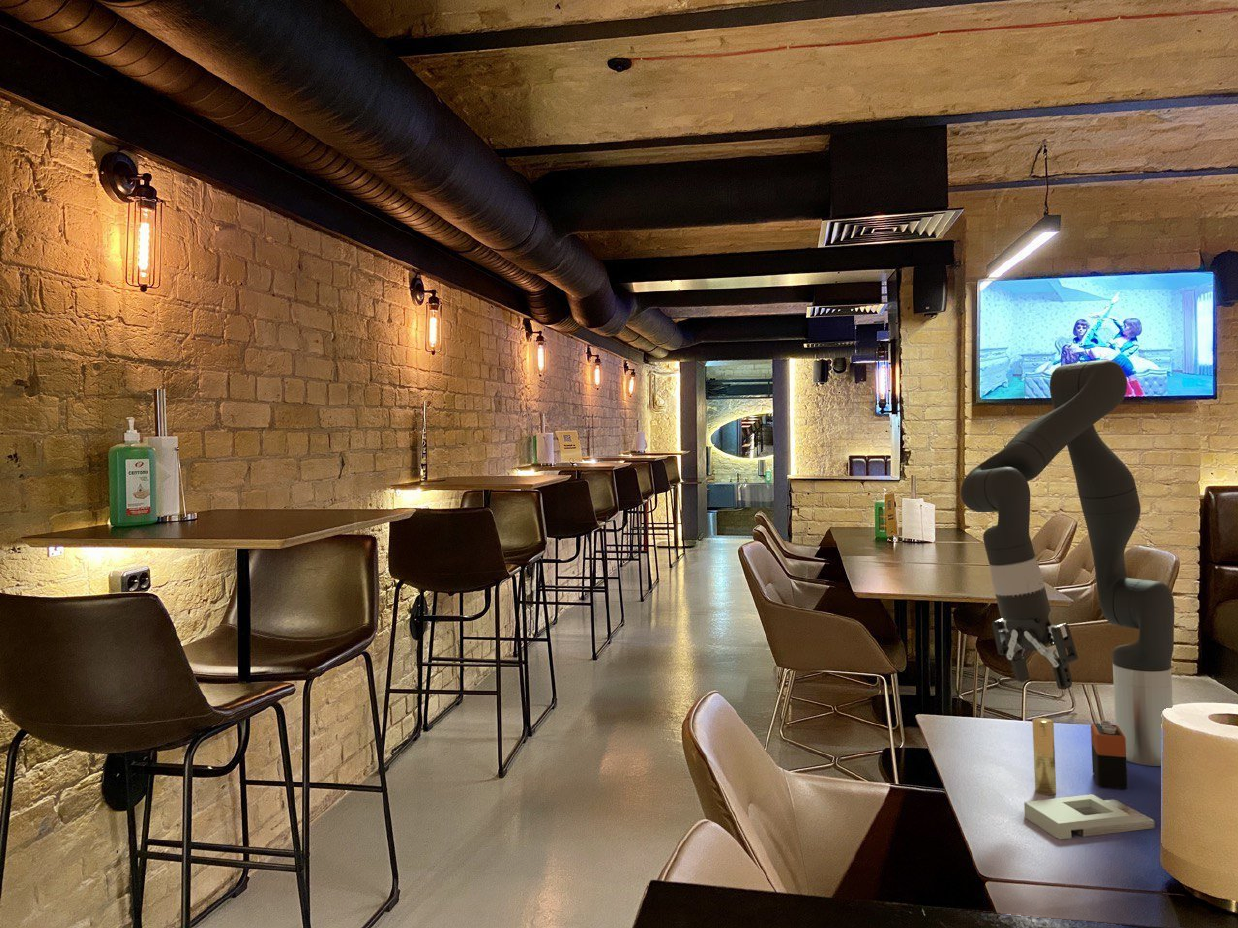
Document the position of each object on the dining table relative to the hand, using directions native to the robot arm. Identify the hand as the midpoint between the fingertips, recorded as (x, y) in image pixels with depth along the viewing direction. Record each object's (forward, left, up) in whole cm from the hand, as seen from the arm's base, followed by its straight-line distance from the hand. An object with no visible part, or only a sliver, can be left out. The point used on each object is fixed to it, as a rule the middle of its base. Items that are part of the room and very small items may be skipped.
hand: (1043, 684), depth 134 cm
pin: (-3, -5, -20) cm, 21 cm away
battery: (-16, -6, -20) cm, 27 cm away
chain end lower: (-4, +7, -20) cm, 21 cm away
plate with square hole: (0, +7, -20) cm, 21 cm away
